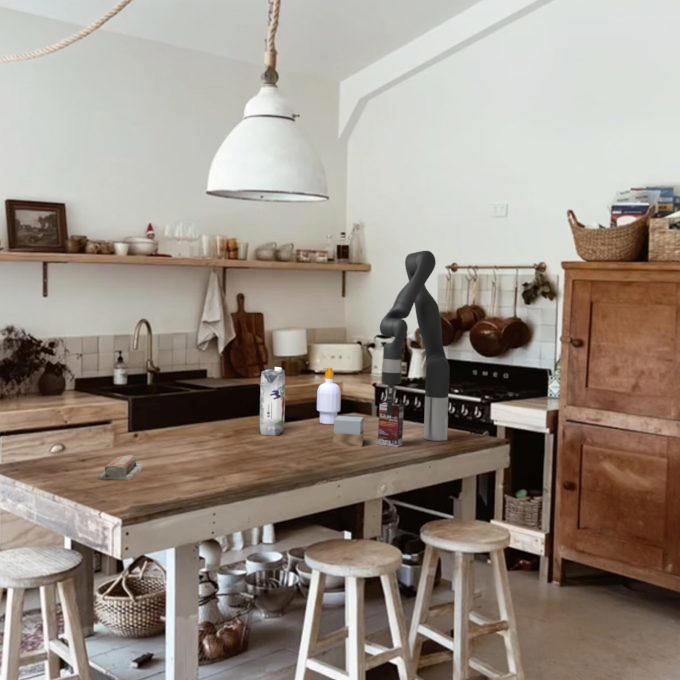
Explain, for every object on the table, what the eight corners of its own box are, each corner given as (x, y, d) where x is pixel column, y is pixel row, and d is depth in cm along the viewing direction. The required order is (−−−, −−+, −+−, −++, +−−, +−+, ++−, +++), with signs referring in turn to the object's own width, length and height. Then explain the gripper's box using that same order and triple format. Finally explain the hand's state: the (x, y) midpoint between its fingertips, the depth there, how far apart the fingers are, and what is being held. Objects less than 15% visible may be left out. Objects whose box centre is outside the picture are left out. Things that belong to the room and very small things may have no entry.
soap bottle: (311, 422, 383) (313, 367, 381) (330, 420, 389) (331, 366, 388) (326, 426, 375) (327, 369, 373) (344, 424, 381) (346, 368, 380)
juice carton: (258, 435, 349) (259, 367, 347) (263, 430, 360) (265, 365, 358) (280, 436, 348) (281, 368, 346) (285, 431, 359) (286, 366, 357)
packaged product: (130, 466, 270) (98, 465, 270) (130, 481, 270) (98, 480, 270) (143, 454, 288) (113, 453, 288) (143, 468, 288) (113, 467, 288)
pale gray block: (363, 429, 342) (363, 417, 341) (360, 434, 332) (360, 421, 332) (337, 428, 343) (337, 415, 343) (333, 433, 333) (334, 420, 333)
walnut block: (363, 442, 343) (363, 429, 343) (361, 447, 332) (362, 434, 332) (335, 441, 344) (335, 428, 343) (332, 446, 333) (333, 433, 332)
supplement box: (377, 444, 337) (378, 403, 335) (382, 442, 341) (383, 402, 340) (397, 447, 333) (399, 405, 331) (402, 445, 337) (404, 404, 336)
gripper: (401, 373, 328) (399, 416, 329) (401, 369, 342) (399, 410, 343) (381, 372, 328) (379, 415, 329) (382, 368, 342) (380, 409, 344)
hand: (389, 412), depth 336 cm, fingers open, 8 cm apart
